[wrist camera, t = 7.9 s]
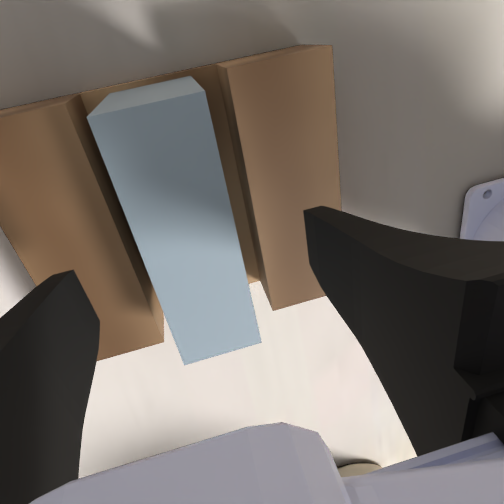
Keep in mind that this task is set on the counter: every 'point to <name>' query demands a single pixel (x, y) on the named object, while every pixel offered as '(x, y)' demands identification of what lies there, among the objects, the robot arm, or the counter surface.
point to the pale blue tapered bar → (179, 212)
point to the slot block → (235, 173)
